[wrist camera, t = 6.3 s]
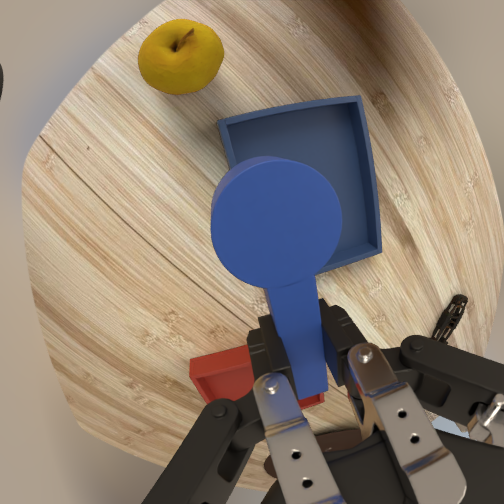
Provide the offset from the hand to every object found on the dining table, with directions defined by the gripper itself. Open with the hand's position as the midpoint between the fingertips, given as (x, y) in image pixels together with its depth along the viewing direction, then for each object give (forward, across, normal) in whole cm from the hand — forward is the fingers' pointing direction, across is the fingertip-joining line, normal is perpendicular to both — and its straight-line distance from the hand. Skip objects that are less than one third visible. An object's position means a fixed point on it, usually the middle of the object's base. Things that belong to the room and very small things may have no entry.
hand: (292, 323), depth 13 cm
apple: (+16, +2, -16) cm, 23 cm away
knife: (+16, -26, +31) cm, 44 cm away
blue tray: (+16, -6, -2) cm, 17 cm away
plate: (+16, -4, +56) cm, 58 cm away
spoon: (0, 0, -2) cm, 2 cm away
